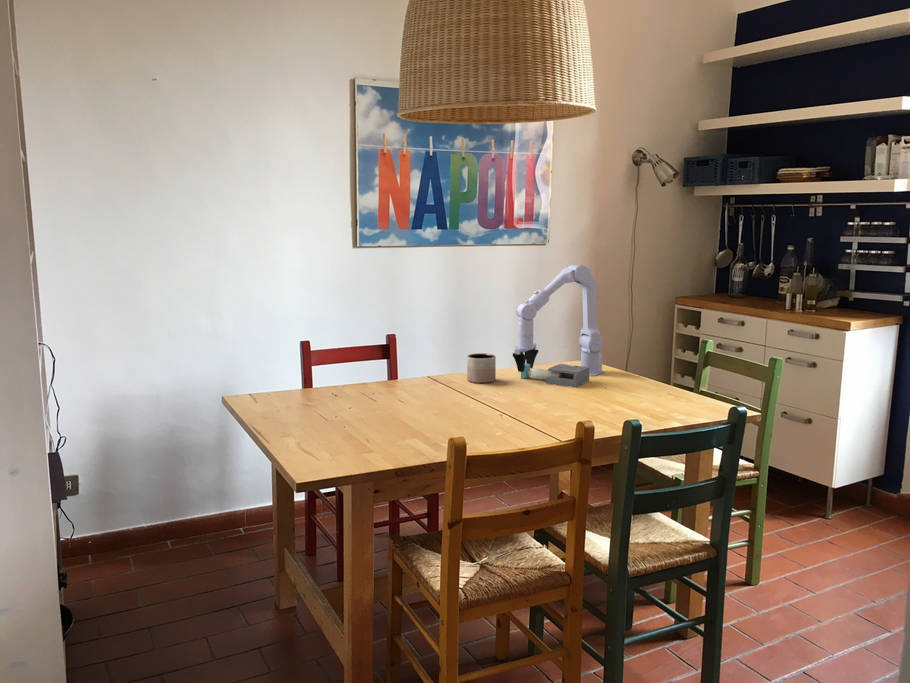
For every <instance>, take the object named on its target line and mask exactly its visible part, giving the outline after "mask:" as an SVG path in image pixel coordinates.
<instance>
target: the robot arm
mask: <svg viewBox="0 0 910 683" xmlns="http://www.w3.org/2000/svg"><path fill="white" fill-rule="evenodd" d="M570 283H577V284H576V285H579V286H580V287H581V290H582V295H581V296H582V328H581V329H580V336H579V338H578V344H579V346H580V347H581V349H580V350H581V351H580V366H584V367H589V376H594V377H596V376H598V375H600V374H603V373H604V372H605V370H603V354H602V352H601V350H602V348H603V347H604V341H603V338H602V336H601V334H602V333H601V332H600V330H599V328H598V313H597V312H598V310H597V308H598V307H597V299H598V298H597V282H596V279H595V278H594V276H593V274H592V269H590V268H589V267H587V266H586V265H583V264H582V265H581V264H577V263H576V264H575V263H569V264H567V265H566V266H565V267H564V268H563V269H561V270H560V272H559V273H558V274H557V276H555V277H554V278H553V280H551V282H549V283H548V285H546V287H544V289H538V290H534V291H533V294H532V295H531V296H530V297H529V298H528V299H526V300H524V302H525V303H521V304H520V303H519V305H518V306H517V308H516V310H515V313H516V315H517V317H518V322H517V323H518V335H517V336H518V338H517V339H518V340H517V341H518V343H517V344H516V345H515V348H514V352H513V353H512V357H513V359H514V361H515V364H516V368H517V372H519V373H521V372H524V368H525V364H530V369H534V365H535V364H534V363H535V361H536V358H537V355H538V353H539V349H537V343H534V318H536V316H537V313H538V311H540V310H541V309H542V308H543V307H544V306H545V305H546V304H547V303H549V302H550V297H551V296H552V295H553V294H554V293H555V292H556V291H558V290H559V289H560V288H561V287H563V286H564V285H565V284H570Z"/></svg>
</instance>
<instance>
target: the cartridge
mask: <svg viewBox="0 0 910 683" xmlns="http://www.w3.org/2000/svg"><path fill="white" fill-rule="evenodd" d="M527 377H528V378H530V377H531V378H532V379H534V380H542V381H546V377H555V378H562V372H554V371H548V369H545V368H544V369H543V368H535V367H533V368H532V370H531V368H530V364H526V363H525V368H524V372H520V379H524V378H526V379H528V378H527Z"/></svg>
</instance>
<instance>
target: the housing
mask: <svg viewBox="0 0 910 683" xmlns="http://www.w3.org/2000/svg"><path fill="white" fill-rule="evenodd" d="M568 365H569V364H566V363H559V364H556V365H554V366H552V367H549V368H547V370H548V371H554V372H562V378H555V377H546V380H545V384H546V383H548V384H547V385H553V384H556V385H555V386H561V385H562V386H561V387H568V386H571V387H570V388H578V387H580V386H582V385H584V384H586V383H587V381H588V382H590V375H589V367H584V366H581V365H576V367H575V368H573V367H568ZM585 382H586V383H585ZM583 383H584V384H583ZM581 384H582V385H581ZM579 385H580V386H579ZM577 386H578V387H577Z"/></svg>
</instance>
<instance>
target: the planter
mask: <svg viewBox="0 0 910 683" xmlns="http://www.w3.org/2000/svg"><path fill="white" fill-rule="evenodd" d="M466 359H467V360H466V361H467V363H466V380H467V381H468V382H469V383H472V382H475V383H474V384H489V383H488V382H491V383H494V382H495V381H496V378H497V377H496V365H497V364H496V363H497V362H496V355H495V354H491V353H483V352H482V353H471V354H468V355H467V358H466Z"/></svg>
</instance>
